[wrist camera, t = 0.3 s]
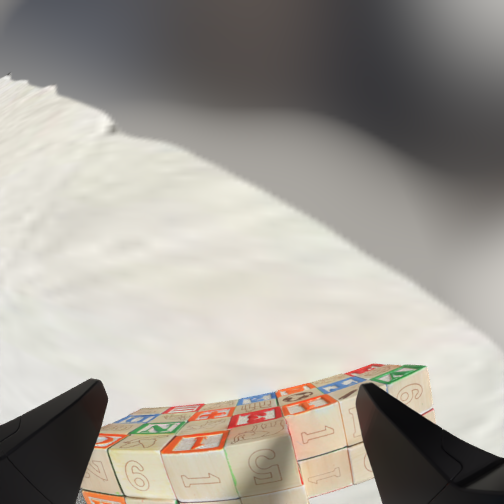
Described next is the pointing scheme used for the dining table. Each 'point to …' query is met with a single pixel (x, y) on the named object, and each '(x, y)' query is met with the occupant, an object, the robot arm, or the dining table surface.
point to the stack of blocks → (247, 444)
